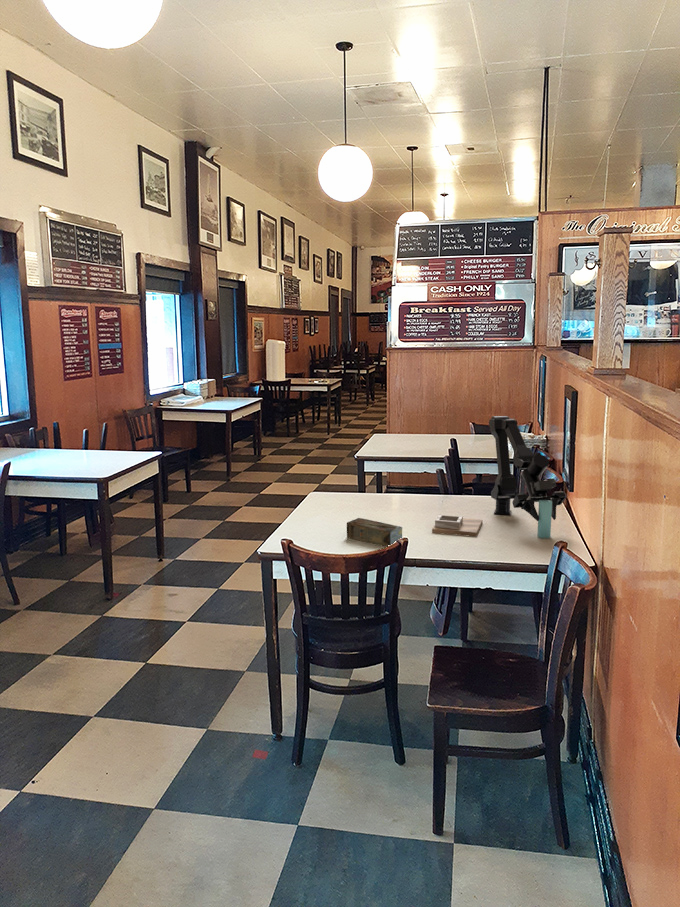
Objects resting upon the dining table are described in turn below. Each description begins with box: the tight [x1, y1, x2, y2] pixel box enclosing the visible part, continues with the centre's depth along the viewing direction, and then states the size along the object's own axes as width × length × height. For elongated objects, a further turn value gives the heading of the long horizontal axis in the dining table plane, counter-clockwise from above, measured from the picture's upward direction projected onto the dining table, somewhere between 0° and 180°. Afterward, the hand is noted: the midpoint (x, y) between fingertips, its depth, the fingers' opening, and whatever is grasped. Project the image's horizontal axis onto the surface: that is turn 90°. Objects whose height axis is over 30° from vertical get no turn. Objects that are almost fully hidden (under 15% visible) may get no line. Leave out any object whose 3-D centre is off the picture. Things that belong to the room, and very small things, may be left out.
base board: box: [431, 514, 483, 537], centre depth 261 cm, size 18×16×4 cm
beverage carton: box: [346, 517, 403, 547], centre depth 246 cm, size 8×19×7 cm, turn 53°
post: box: [536, 500, 552, 539], centre depth 249 cm, size 4×4×13 cm
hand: (546, 519), depth 247 cm, fingers open, 6 cm apart
